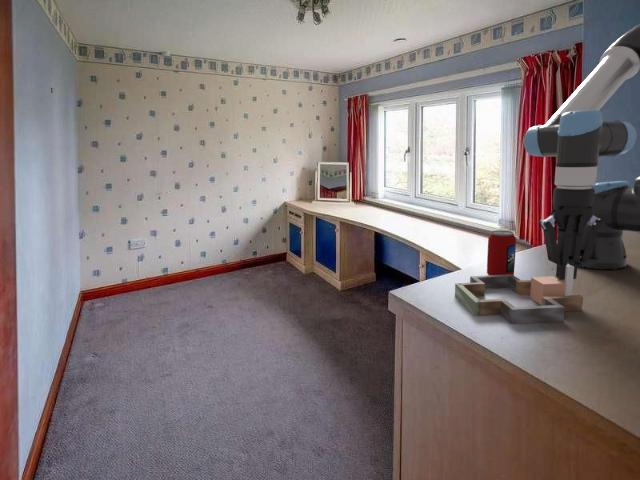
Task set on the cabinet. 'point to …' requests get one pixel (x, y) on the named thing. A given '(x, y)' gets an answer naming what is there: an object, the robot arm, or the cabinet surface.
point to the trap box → (546, 312)
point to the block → (546, 288)
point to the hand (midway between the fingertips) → (564, 292)
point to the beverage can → (501, 253)
